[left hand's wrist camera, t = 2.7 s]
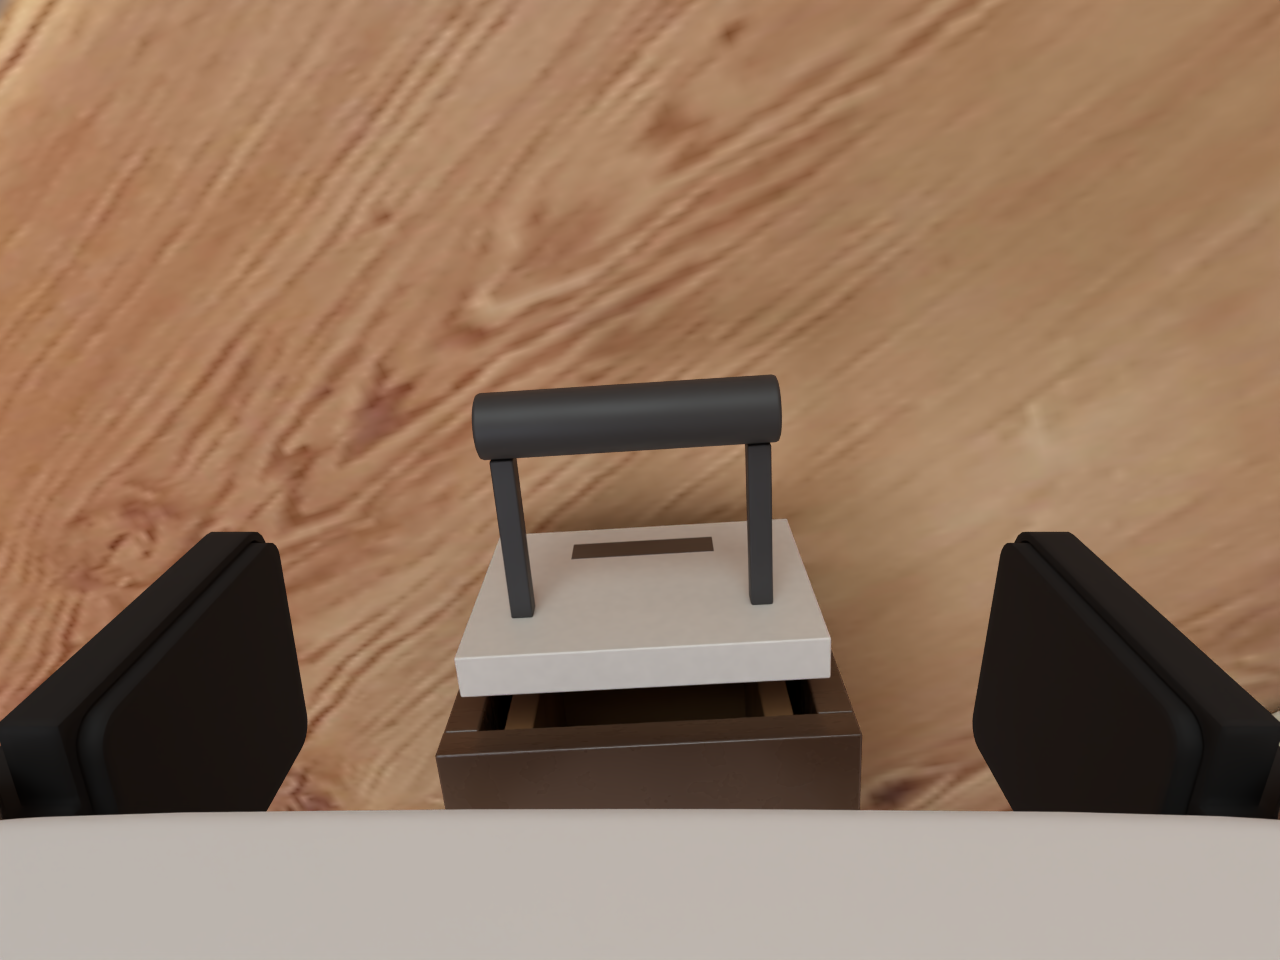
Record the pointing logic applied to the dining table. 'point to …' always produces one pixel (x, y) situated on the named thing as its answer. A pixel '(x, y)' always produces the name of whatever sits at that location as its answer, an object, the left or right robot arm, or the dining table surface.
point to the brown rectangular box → (658, 759)
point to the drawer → (640, 571)
